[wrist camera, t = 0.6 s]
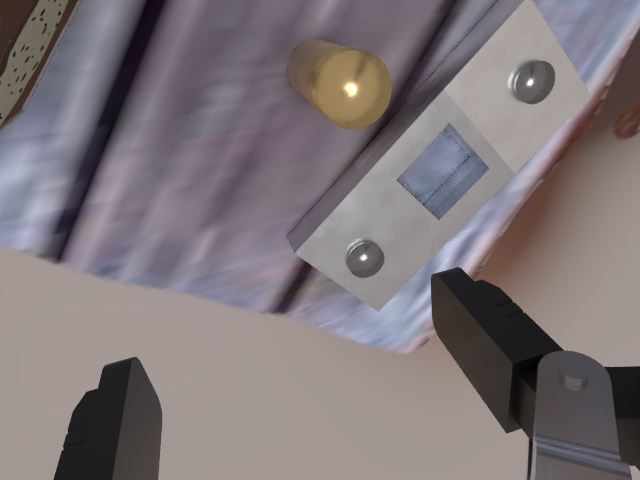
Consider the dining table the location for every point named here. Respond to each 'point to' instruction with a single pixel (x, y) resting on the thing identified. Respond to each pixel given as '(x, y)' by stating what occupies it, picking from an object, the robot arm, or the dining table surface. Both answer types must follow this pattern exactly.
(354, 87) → the brass pin
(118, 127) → the dining table surface
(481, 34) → the studded base plate
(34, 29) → the food container
